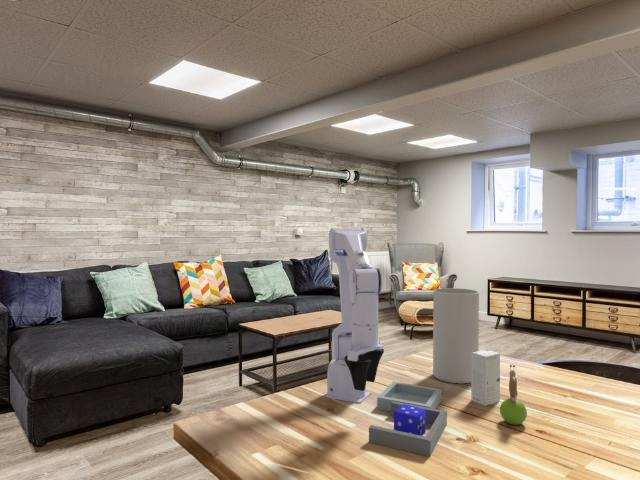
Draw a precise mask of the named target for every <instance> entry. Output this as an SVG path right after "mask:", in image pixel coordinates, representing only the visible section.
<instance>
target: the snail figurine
mask: <svg viewBox="0 0 640 480" xmlns="http://www.w3.org/2000/svg"><path fill="white" fill-rule="evenodd" d="M509 367H510V368H516V365H515V364H513V365H512V364H509ZM508 373H509V383H508V390H509V391H508V392H509V396H510V397H509V398H507V399H504V400H503V401H502V402H501V403H500V406H499V413H500V416H501V418H502V419H503V420H504V421H505V422H506V423H507V424H510V425H514V426H518V425H521V424H523V423H524V422H525V421H526V419H527V417H528V411H527V407H526V406H525V404H524V403H523V402H522V401H521V400H519V399H518V380H517V377H516V371H515V369H510V371H509V372H508Z"/></svg>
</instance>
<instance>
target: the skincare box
mask: <svg viewBox="0 0 640 480" xmlns="http://www.w3.org/2000/svg"><path fill="white" fill-rule="evenodd" d="M470 385H471V386H470V387H471V391H470V392H471V399H470V400H471V401H472V402H474V403H476V404H479V405H481V406H485V407H486V406H490V405H494V404H496V403H499V402H501V354H500V352H497V351H493V350H489V349H484V350H478V351H477V352H472V365H471V383H470Z"/></svg>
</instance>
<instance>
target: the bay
mask: <svg viewBox="0 0 640 480" xmlns="http://www.w3.org/2000/svg"><path fill="white" fill-rule="evenodd" d="M403 404H406V403H400V402H395V401H393V402H392V403H391V412H390V416H391V417H394V411H396V410H397V409H398V408H400V407H401V406H402V405H403ZM406 405H410V406H414V407H419V408H423V409H425V410H426V423H425V424H429V425H432V426H431V427H430V428H429V430H428V432H427V434H426V435H425V436H423V435H422V436H420V435H415V434H410V433H406V432H401V431H396V430H394V429H392V428H386V427H381V426H378V425H371V424H370V425H369V427H368V443H371V444H374V445H378V446H383V447H386V448H392V449H394V450H395V449H396V450H400V451H404V452H408V453H413V454H417V455H422V456H427V457H431V456H432V454H433V452H434V451H435V449H436V447H437V444H438V442H439V440H440V439H441V436H442V435H443V433H444V431H445V429H446V428H447V426H448V420H447V418H448V411H447V410H444V409H443V410H442V409H437V408H436V409H433V408H427V407H422V406H417V405H411V404H406Z"/></svg>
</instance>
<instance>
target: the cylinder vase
mask: <svg viewBox="0 0 640 480" xmlns="http://www.w3.org/2000/svg"><path fill="white" fill-rule="evenodd" d="M432 305H433V306H432V307H433V308H432V309H433V312H432V313H433V316H432V317H433V318H432V320H433V322H432V326H433V327H432V329H433V331H432V374H433V376H434V378H436V379H437V380H439V381H441V382H445V383H450V384H455V383H458V384H459V385H462V384H463V385H464V384H465V383H467V384H471V365H472V352H477V351H479V345H480V344H479V343H480V342H479V333H480V332H479V331H480V329H479V326H480V325H479V323H480V321H479V320H480V319H479V318H480V291H479V290H475V289H467V288H456V287H454V288H453V287H451V288H450V287H448V288H445V287H443V288H434V289H433V304H432ZM458 384H457V385H458Z"/></svg>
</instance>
